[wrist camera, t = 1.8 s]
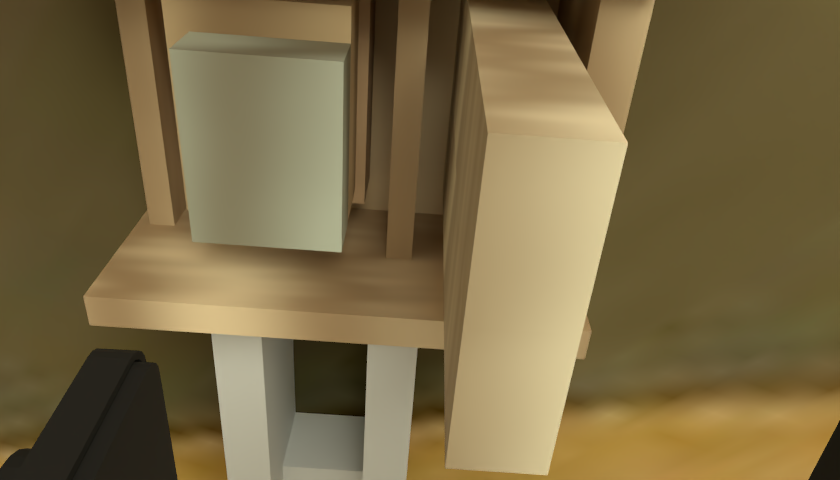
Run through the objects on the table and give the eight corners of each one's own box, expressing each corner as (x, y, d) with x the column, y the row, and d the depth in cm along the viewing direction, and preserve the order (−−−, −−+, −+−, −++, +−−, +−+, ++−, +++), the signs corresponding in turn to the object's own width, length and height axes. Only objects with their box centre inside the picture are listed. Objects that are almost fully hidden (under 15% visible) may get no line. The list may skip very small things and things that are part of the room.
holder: (422, 240, 26) (419, 323, 22) (406, 435, 32) (401, 533, 27) (246, 227, 26) (208, 308, 22) (260, 425, 31) (232, 522, 27)
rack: (616, -103, 20) (691, -67, 14) (551, 232, 26) (584, 359, 20) (124, -141, 20) (-12, -122, 14) (171, 205, 26) (89, 325, 20)
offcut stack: (376, -29, 20) (357, 19, 15) (369, 175, 24) (352, 265, 19) (203, -43, 20) (131, 1, 15) (221, 165, 24) (167, 252, 19)
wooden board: (532, -25, 20) (627, 143, 10) (501, 190, 24) (547, 475, 14) (463, -30, 20) (487, 132, 10) (442, 186, 24) (445, 468, 14)
